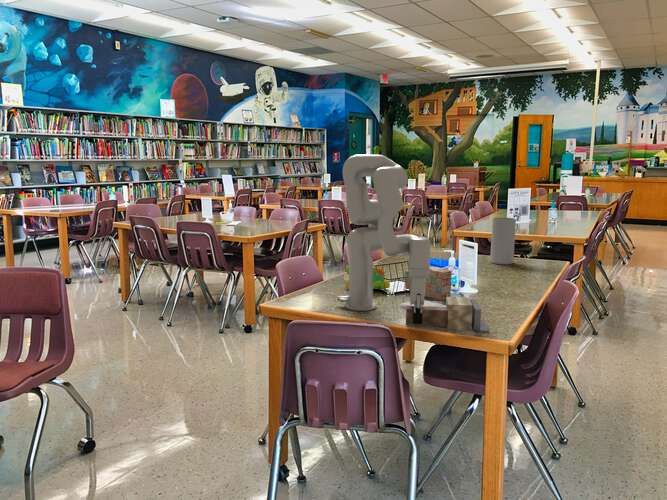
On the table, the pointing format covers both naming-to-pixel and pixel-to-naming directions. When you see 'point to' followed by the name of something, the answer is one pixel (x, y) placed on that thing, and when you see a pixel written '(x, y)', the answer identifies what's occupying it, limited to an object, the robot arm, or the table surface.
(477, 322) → the grey piece
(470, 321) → the maple block
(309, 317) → the table surface
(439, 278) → the stack of blocks
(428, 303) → the calculator
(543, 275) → the table surface
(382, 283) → the turtle toy
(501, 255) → the cylinder vase
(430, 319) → the walnut bar
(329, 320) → the table surface
